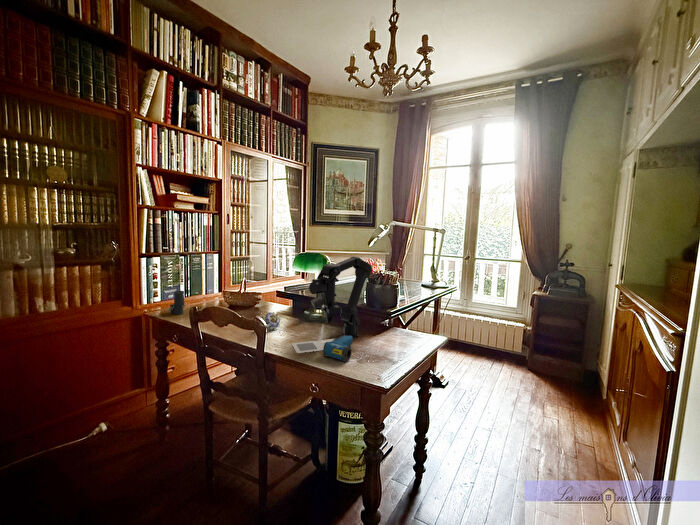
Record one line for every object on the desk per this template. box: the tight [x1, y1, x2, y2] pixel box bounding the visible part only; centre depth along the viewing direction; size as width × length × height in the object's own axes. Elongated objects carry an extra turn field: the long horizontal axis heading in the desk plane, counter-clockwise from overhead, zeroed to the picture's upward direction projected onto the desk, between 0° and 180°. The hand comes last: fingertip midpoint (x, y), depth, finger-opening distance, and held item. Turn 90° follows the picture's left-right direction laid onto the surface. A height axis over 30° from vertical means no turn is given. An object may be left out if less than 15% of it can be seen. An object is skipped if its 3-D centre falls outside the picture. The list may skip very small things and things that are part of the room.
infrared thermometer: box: [322, 334, 354, 363], centre depth 143 cm, size 6×13×20 cm
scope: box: [167, 290, 186, 316], centre depth 192 cm, size 8×14×10 cm
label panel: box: [291, 338, 335, 354], centre depth 150 cm, size 24×12×1 cm, turn 113°
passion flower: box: [260, 310, 282, 332], centre depth 172 cm, size 11×11×12 cm
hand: (328, 323), depth 153 cm, fingers closed
